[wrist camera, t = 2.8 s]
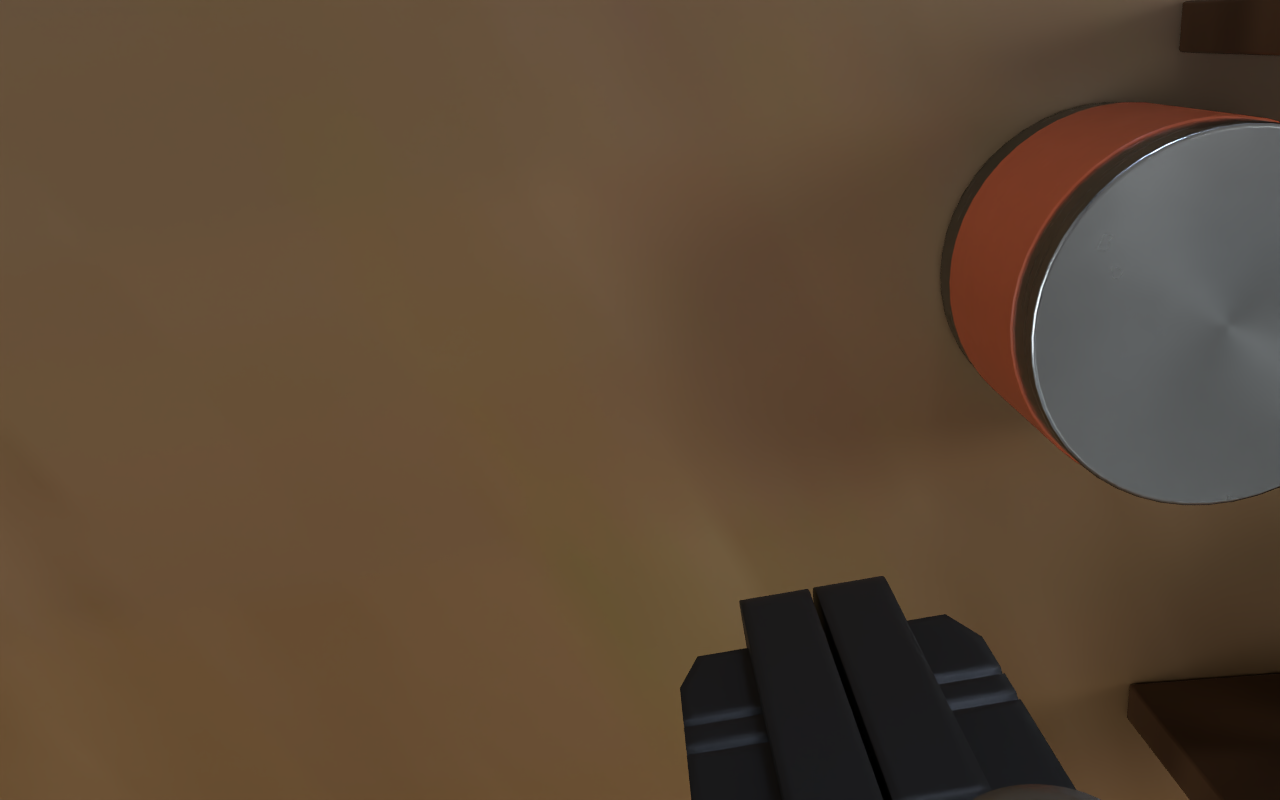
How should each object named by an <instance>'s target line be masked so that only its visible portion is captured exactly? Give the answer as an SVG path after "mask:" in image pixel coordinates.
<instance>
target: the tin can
mask: <svg viewBox="0 0 1280 800" xmlns="http://www.w3.org/2000/svg"><path fill="white" fill-rule="evenodd" d="M940 279H941V295H942V301H943V306H944V311H945V315H946V318H947V321H948V324H949V327H950V330H951V332H952V334H953V336H954V338H955V340H956V342H957V344H958V346H959V348H960V349H961V351H962V352H963V354H964V355H965V356H966V358H967V359H968V361H969V362H970V363H971V364H972V365H973V367H974V368H975V369H976V370H977V371H978V373H979V374H980V375H981V377H982V378H983V379H984V380H985V381H986V382H987V383H988V384H989V385H990V386H991V387H992V388H993V389H994V390H995V391H996V392H997V393H998V394H999V395H1000V396H1002V397H1003V398H1004V399H1005V400H1006V401H1007V402H1008V403H1009V404H1010V405H1011V406H1012V407H1014V408H1015V409H1016V410H1017V411H1018V412H1019V413H1020V414H1021V415H1022V416H1023V417H1025V418H1026V419H1027V420H1028V421H1029V422H1030V423H1031V424H1032V425H1033V426H1034V427H1035V428H1037V429H1038V430H1039V431H1040V432H1041V433H1042V434H1043V435H1044V436H1045V437H1046V438H1048V439H1049V440H1050V441H1051V442H1052V443H1053V444H1054V445H1055V446H1056V447H1057V448H1059V449H1060V450H1061V451H1062V452H1064V453H1065V454H1066V455H1067V456H1069V457H1070V458H1071V459H1072V460H1074V461H1075V462H1077V463H1078V464H1080V465H1082V466H1083V467H1084V468H1086V469H1087V470H1088V471H1089V472H1091V473H1092V474H1093V475H1094V476H1096V477H1097V478H1099V479H1101V480H1102V481H1104V482H1106V483H1108V484H1109V485H1111V486H1113V487H1115V488H1117V489H1119V490H1122V491H1124V492H1127V493H1129V494H1132V495H1134V496H1137V497H1140V498H1144V499H1148V500H1152V501H1156V502H1161V503H1170V504H1179V505H1211V504H1218V503H1226V502H1233V501H1237V500H1241V499H1245V498H1249V497H1253V496H1257V495H1260V494H1263V493H1265V492H1268V491H1271V490H1273V489H1276V488H1279V487H1280V122H1279V121H1276V120H1272V119H1269V118H1262V117H1255V116H1247V115H1240V114H1232V113H1224V112H1217V111H1209V110H1201V109H1193V108H1186V107H1178V106H1170V105H1162V104H1154V103H1147V102H1104V103H1097V104H1090V105H1083V106H1079V107H1076V108H1072V109H1068V110H1065V111H1062V112H1059V113H1057V114H1054V115H1052V116H1050V117H1047V118H1045V119H1042V120H1041V121H1039V122H1037V123H1035V124H1034V125H1032V126H1030V127H1028V128H1026V129H1025V130H1023V131H1022V132H1020V133H1019V134H1018V135H1016V136H1015V137H1013V138H1012V139H1011V140H1009V141H1008V142H1007V143H1005V144H1004V145H1003V146H1002V147H1001V148H1000V149H999V150H998V151H997V152H996V153H995V154H994V155H993V156H991V157H990V158H989V159H988V161H987V162H986V163H985V164H984V165H983V167H982V168H981V169H980V170H979V171H978V173H977V174H976V175H975V176H974V178H973V179H972V181H971V182H970V184H969V185H968V187H967V188H966V190H965V192H964V193H963V195H962V197H961V199H960V201H959V203H958V205H957V207H956V209H955V211H954V213H953V216H952V219H951V221H950V224H949V227H948V230H947V233H946V237H945V242H944V246H943V251H942V259H941V271H940Z"/></svg>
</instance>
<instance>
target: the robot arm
mask: <svg viewBox="0 0 1280 800" xmlns="http://www.w3.org/2000/svg"><path fill="white" fill-rule="evenodd" d="M813 601H814V603H813ZM739 602H740V609H741V616H742V622H743V628H744V634H745V640H746V645H747V648H745V649H740V650H734V651H728V652H722V653H716V654H710V655H704V656H698V657H697V659H696V660H695V662H694V664H693V666H692V668H691V669H690V671H689V673H688V675H687V677H686V678H685V680H684V682H683V684H682V686H681V687H680V692H681V702H682V712H683V721H684V731H685V741H686V750H687V761H688V771H689V781H690V791H691V800H1100V799H1098V798H1096V797H1094V796H1091V795H1089V794H1086V793H1084V792H1081V791H1077V790H1076V789H1075V787H1074V785H1073V784H1072V782H1071V781H1070V779H1069V777H1068V776H1067V774H1066V772H1065V771H1064V769H1063V768H1062V766H1061V764H1060V763H1059V761H1058V759H1057V758H1056V756H1055V755H1054V753H1053V751H1052V750H1051V748H1050V746H1049V745H1048V743H1047V742H1046V740H1045V738H1044V737H1043V735H1042V733H1041V732H1040V730H1039V729H1038V727H1037V725H1036V724H1035V722H1034V720H1033V719H1032V717H1031V716H1030V714H1029V712H1028V711H1027V709H1026V707H1025V706H1024V704H1023V703H1022V701H1021V699H1019V700H1018V698H1017V693H1016V691H1015V690H1014V688H1013V686H1012V685H1011V683H1010V681H1009V680H1008V678H1007V677H1006V675H1005V673H1004V674H1002V671H1001V667H1000V665H999V664H998V662H997V660H996V659H995V657H994V655H993V654H992V652H991V651H990V649H989V647H988V646H987V644H986V642H985V641H984V639H983V638H982V636H980V635H978V634H977V633H975V632H973V631H972V630H970V629H969V628H967V627H965V626H964V625H962V624H960V623H959V622H957V621H956V620H954V619H952V618H951V617H949V616H947V615H946V614H944V615H938V616H932V617H926V618H921V619H915V620H909V621H907V620H906V618H905V616H904V614H903V612H902V610H901V608H900V606H899V604H898V602H897V600H896V598H895V596H894V594H893V592H892V590H891V588H890V586H889V584H888V582H887V581H886V579H885V578H884V576H879V577H873V578H867V579H861V580H855V581H850V582H844V583H838V584H832V585H826V586H820V587H815V588H813V600H812V597H811V594H810V592H809V590H808V589H804V590H798V591H793V592H787V593H781V594H775V595H769V596H763V597H758V598H752V599H746V600H740V601H739Z"/></svg>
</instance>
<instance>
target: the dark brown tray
mask: <svg viewBox="0 0 1280 800" xmlns="http://www.w3.org/2000/svg"><path fill="white" fill-rule="evenodd" d="M1179 50H1180V52H1188V53H1218V54H1247V55H1276V56H1280V0H1195V1H1185V2H1184V3H1183V8H1182V21H1181V34H1180V46H1179ZM1127 718H1128V720H1129V721H1130V722H1131V724H1132V725H1133V726H1134V727H1135V729H1136V730H1137V731H1138V733H1139V734H1140V735H1141V737H1142V738H1143V739H1144V740H1145V742H1146V743H1147V744H1148V746H1149V747H1150V748H1151V750H1152V751H1153V752H1154V754H1155V755H1156V756H1157V757H1158V759H1159V760H1160V761H1161V763H1162V764H1163V765H1164V767H1165V768H1166V769H1167V771H1168V772H1169V773H1170V774H1171V776H1172V777H1173V778H1174V780H1175V781H1176V782H1177V784H1178V785H1179V786H1180V788H1181V789H1182V790H1183V791H1184V793H1185V794H1186V795H1187V797H1188V798H1189V799H1190V800H1280V674H1267V675H1253V676H1240V677H1227V678H1213V679H1200V680H1186V681H1173V682H1159V683H1146V684H1132V685H1130V688H1129V701H1128V714H1127Z"/></svg>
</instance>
